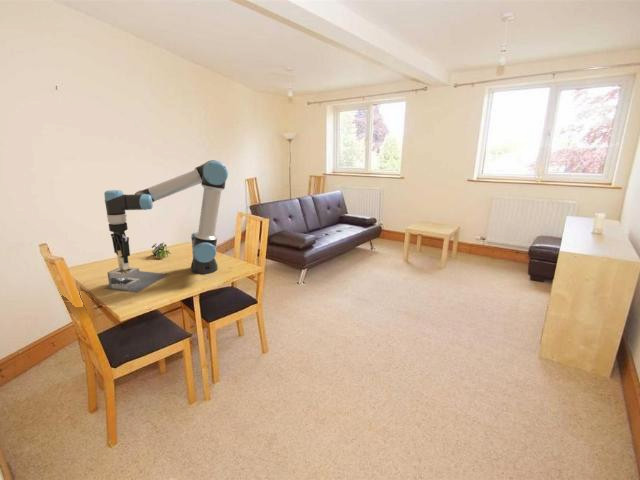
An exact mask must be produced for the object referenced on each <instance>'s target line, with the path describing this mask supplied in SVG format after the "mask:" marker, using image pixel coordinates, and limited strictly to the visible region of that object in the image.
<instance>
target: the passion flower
mask: <svg viewBox="0 0 640 480" xmlns="http://www.w3.org/2000/svg"><path fill="white" fill-rule="evenodd" d="M156 245H157V243H154V244H153V245H152V246H151V248H152V249H153V248H154V249H153V250H152V252H151V254H152V257H157V260H160V259H163V258H164V257H166V255H167V257H168V256H169V255H168V254H171V252H170V251H169V250H170V249H167V248H166V247H167V244H166V243H164V241H163V242H161V243H159V245H157V246H156Z"/></svg>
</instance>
